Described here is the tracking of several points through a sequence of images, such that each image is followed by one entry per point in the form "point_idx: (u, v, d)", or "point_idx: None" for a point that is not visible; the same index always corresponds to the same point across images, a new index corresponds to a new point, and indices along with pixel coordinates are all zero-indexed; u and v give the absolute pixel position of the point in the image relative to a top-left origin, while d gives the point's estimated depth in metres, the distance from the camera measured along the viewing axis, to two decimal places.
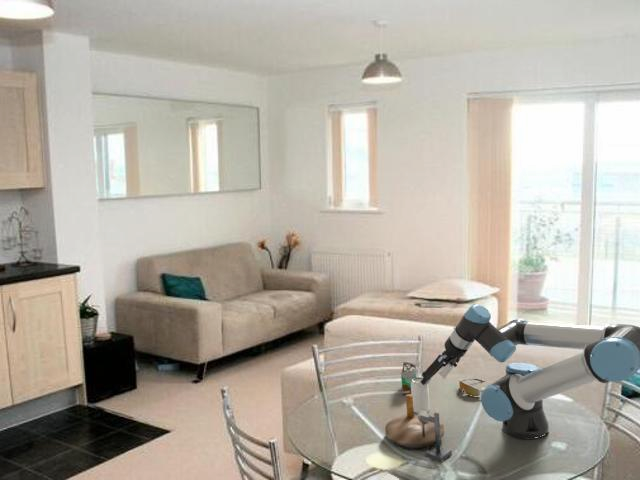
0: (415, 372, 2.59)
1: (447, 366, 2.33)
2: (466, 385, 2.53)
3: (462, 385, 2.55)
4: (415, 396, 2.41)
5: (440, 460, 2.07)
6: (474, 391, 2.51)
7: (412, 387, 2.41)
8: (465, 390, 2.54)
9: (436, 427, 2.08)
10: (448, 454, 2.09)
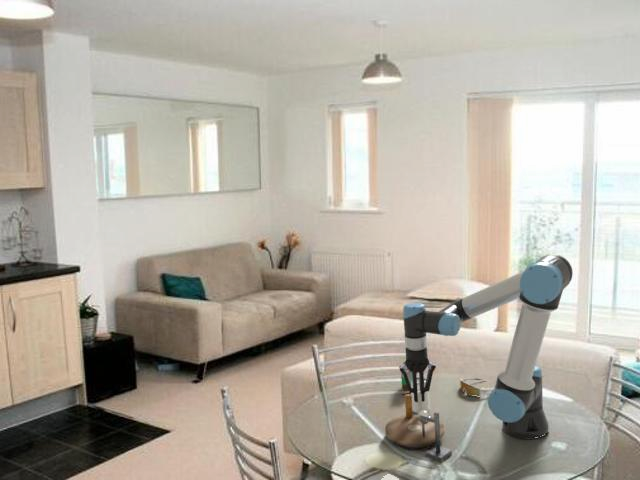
0: None
1: None
2: (467, 385, 2.54)
3: (463, 385, 2.56)
4: None
5: (440, 460, 2.07)
6: (475, 391, 2.52)
7: (412, 387, 2.41)
8: (466, 390, 2.54)
9: (436, 427, 2.08)
10: (448, 454, 2.09)
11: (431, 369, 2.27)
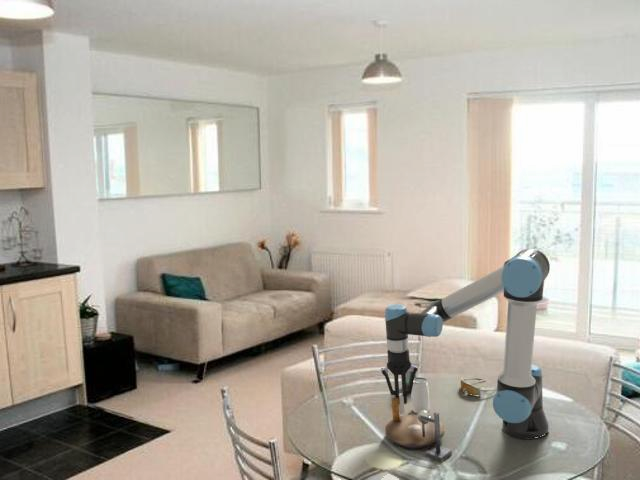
0: None
1: None
2: (467, 385, 2.54)
3: (463, 385, 2.56)
4: (415, 396, 2.41)
5: (440, 460, 2.07)
6: (475, 391, 2.52)
7: (412, 387, 2.41)
8: (466, 390, 2.54)
9: (436, 427, 2.08)
10: (448, 454, 2.09)
11: (413, 371, 2.27)
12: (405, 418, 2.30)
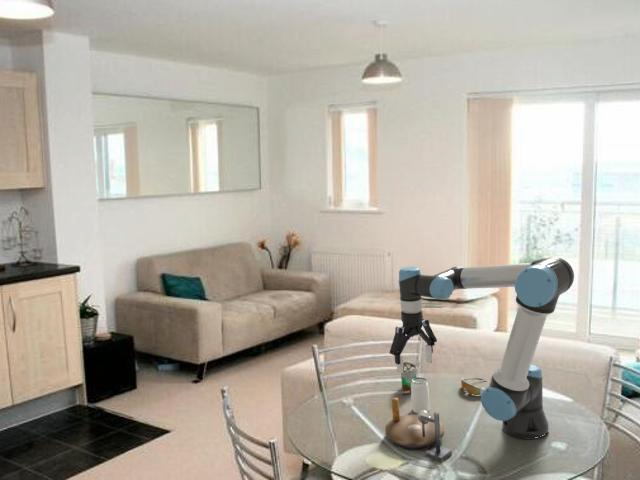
0: (415, 372, 2.59)
1: (427, 348, 2.37)
2: (468, 384, 2.54)
3: (464, 384, 2.56)
4: (415, 396, 2.41)
5: (440, 460, 2.07)
6: (476, 390, 2.52)
7: (412, 387, 2.41)
8: (467, 389, 2.54)
9: (436, 427, 2.08)
10: (448, 454, 2.09)
11: (427, 325, 2.34)
12: (405, 418, 2.30)
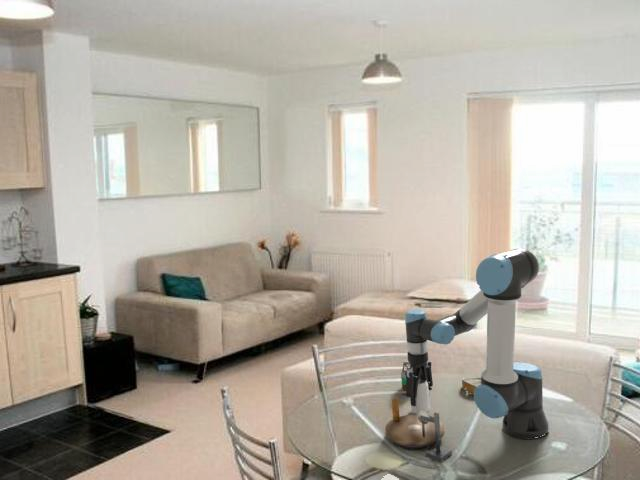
0: None
1: None
2: (469, 384, 2.54)
3: (465, 384, 2.56)
4: None
5: (440, 460, 2.07)
6: None
7: None
8: (468, 389, 2.55)
9: (436, 427, 2.08)
10: (448, 454, 2.09)
11: (429, 366, 2.44)
12: (405, 418, 2.30)
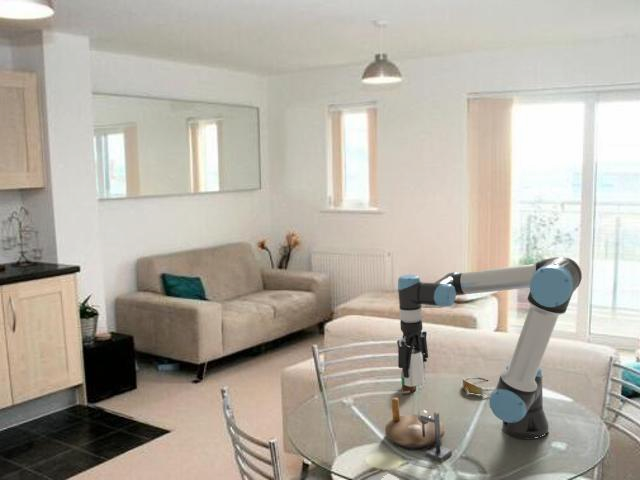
0: None
1: None
2: (469, 384, 2.54)
3: (465, 384, 2.56)
4: None
5: (440, 460, 2.07)
6: (477, 390, 2.52)
7: None
8: (468, 389, 2.55)
9: (436, 427, 2.08)
10: (448, 454, 2.09)
11: (424, 336, 2.29)
12: (405, 418, 2.30)
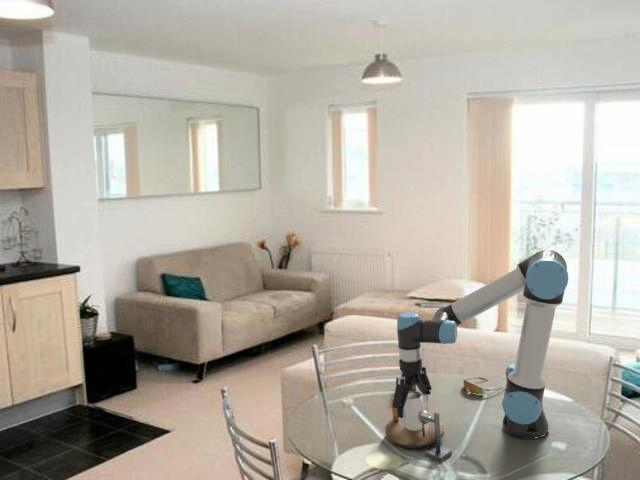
0: None
1: (422, 397, 2.25)
2: (470, 384, 2.54)
3: (466, 384, 2.57)
4: (408, 412, 2.19)
5: (440, 460, 2.07)
6: (478, 390, 2.52)
7: (405, 402, 2.19)
8: (469, 389, 2.55)
9: (436, 427, 2.08)
10: (448, 454, 2.09)
11: (424, 372, 2.23)
12: None
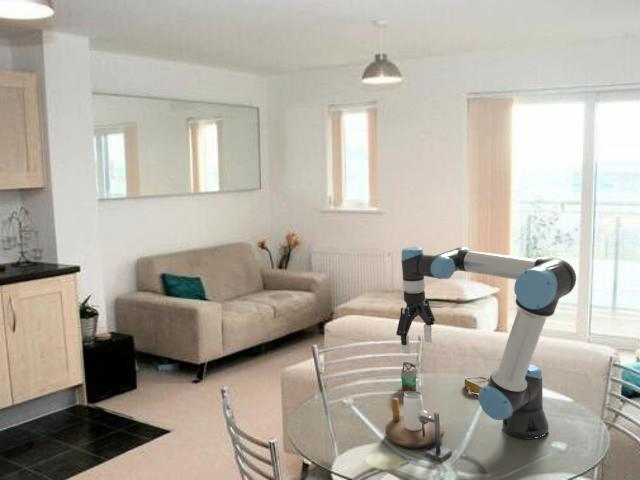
0: (415, 372, 2.59)
1: (426, 328, 2.38)
2: (471, 383, 2.55)
3: (467, 383, 2.57)
4: (408, 412, 2.19)
5: (440, 460, 2.07)
6: (479, 389, 2.53)
7: (405, 402, 2.19)
8: (470, 388, 2.55)
9: (436, 427, 2.08)
10: (448, 454, 2.09)
11: (427, 304, 2.35)
12: None
